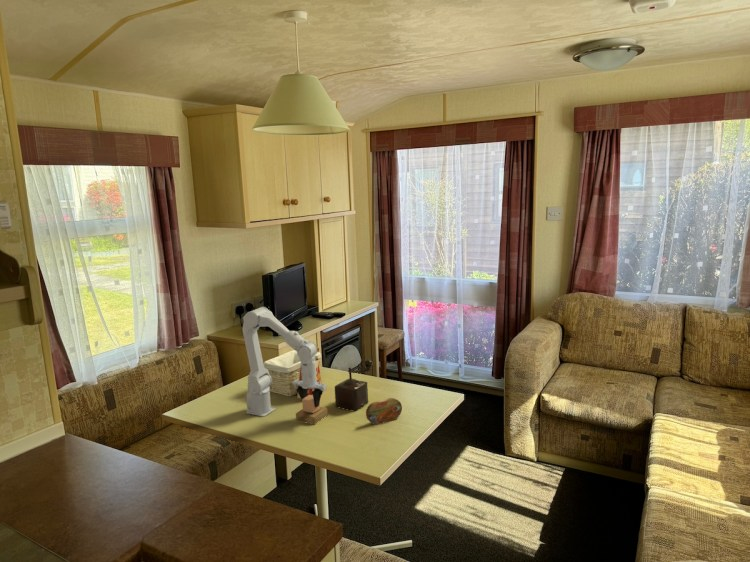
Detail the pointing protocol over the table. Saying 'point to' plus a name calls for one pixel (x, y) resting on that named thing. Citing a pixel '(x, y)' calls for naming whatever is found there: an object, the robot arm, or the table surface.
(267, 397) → the robot arm
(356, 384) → the dark brown boxy piece
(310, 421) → the brown flat square block
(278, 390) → the storage basket
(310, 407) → the terracotta cube
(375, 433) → the table surface
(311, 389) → the milk carton
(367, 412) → the tin
